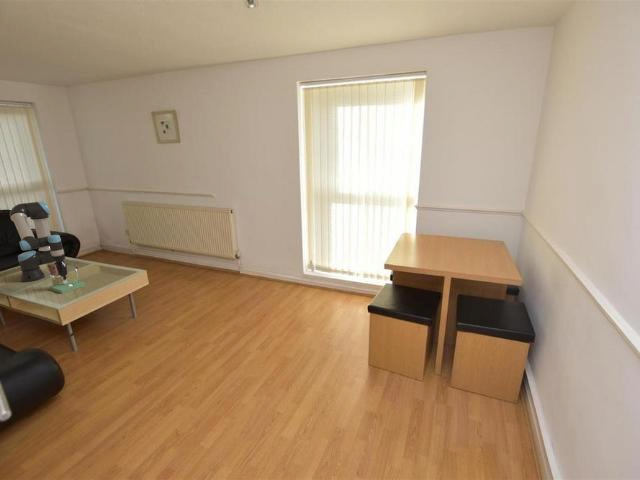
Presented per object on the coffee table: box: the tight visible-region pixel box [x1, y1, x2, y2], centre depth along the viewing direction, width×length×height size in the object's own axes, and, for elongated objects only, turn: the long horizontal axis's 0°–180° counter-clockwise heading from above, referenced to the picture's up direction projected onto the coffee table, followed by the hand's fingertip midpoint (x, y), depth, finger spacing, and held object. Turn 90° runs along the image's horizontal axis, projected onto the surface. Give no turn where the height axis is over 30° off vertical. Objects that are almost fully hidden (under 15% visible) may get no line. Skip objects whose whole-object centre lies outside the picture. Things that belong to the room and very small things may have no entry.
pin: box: [74, 265, 81, 282], centre depth 247 cm, size 4×1×14 cm, turn 63°
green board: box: [48, 279, 86, 294], centre depth 246 cm, size 18×16×2 cm
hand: (65, 283), depth 247 cm, fingers closed
